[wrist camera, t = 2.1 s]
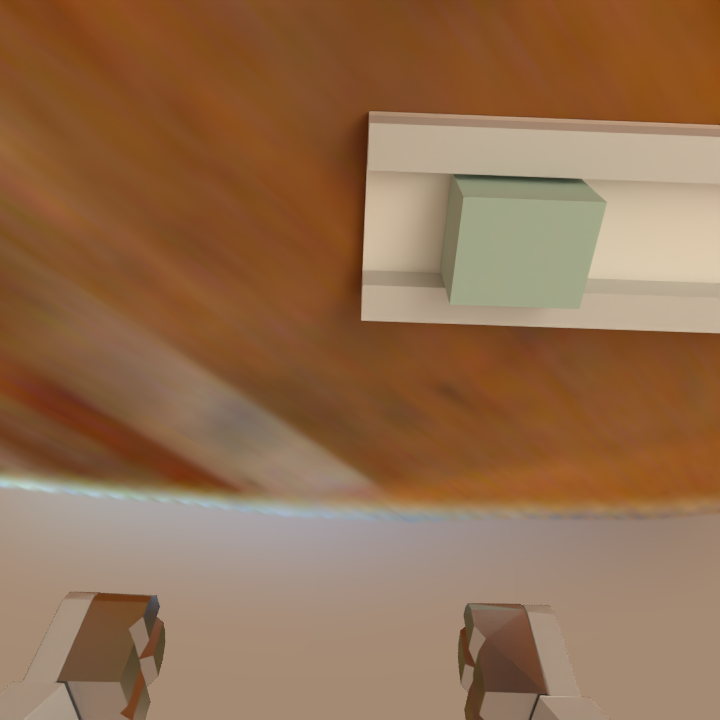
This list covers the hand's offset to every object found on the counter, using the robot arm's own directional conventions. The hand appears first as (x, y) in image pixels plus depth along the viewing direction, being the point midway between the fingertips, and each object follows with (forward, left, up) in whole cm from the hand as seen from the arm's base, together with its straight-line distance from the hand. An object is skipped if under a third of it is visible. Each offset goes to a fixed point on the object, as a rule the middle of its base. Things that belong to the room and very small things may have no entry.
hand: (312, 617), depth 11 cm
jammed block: (-8, 0, -22) cm, 23 cm away
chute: (-14, 0, -23) cm, 27 cm away
